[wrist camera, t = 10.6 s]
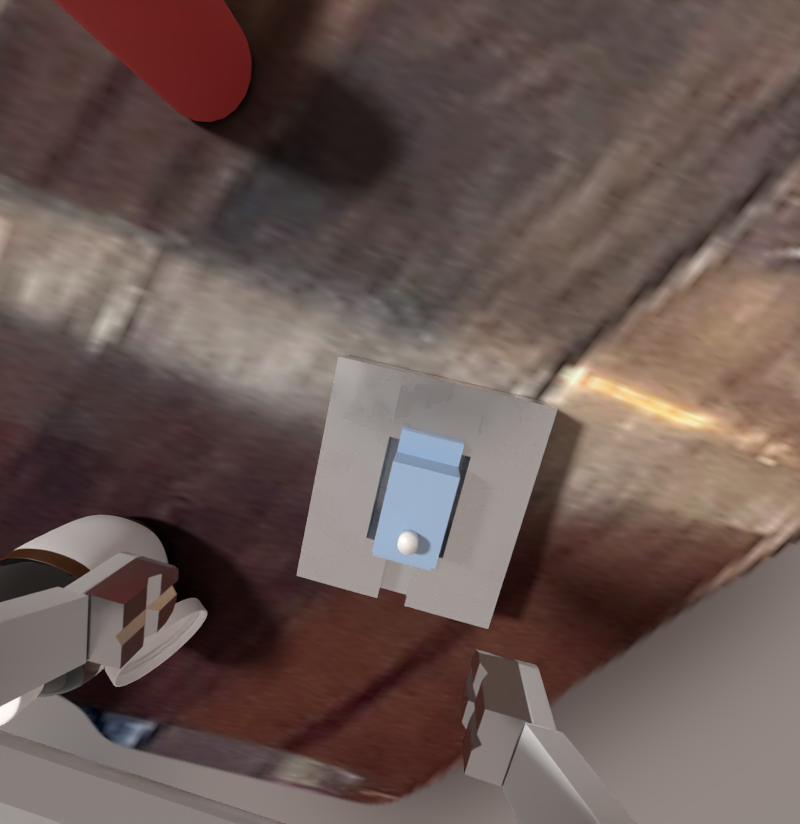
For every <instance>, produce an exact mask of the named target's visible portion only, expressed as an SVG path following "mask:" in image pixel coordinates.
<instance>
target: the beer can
mask: <svg viewBox="0 0 800 824" xmlns="http://www.w3.org/2000/svg"><path fill="white" fill-rule="evenodd" d="M54 1H55V2H56V3H57V4H58V5H59V6H61V7H62V8H63V9H64V10H65V11H66V12H67V13H68V14H69V15H71V16H72V17H73V18H74V19H75V20H76V21H77V22H78V23H80V24H81V25H82V26H83V27H84V28H85V29H86V30H87V31H88V32H90V33H91V34H92V35H93V36H94V37H95V38H96V39H97V40H98V41H100V42H101V43H102V44H103V45H104V46H105V47H106V48H107V49H108V50H110V51H111V52H112V53H113V54H114V55H115V56H116V57H117V58H118V59H120V60H121V61H122V62H123V63H124V64H125V65H126V66H127V67H128V68H130V69H131V70H132V71H133V72H134V73H135V74H136V75H137V76H138V77H140V78H141V79H142V80H143V81H144V82H145V83H146V84H147V85H148V86H150V87H151V88H152V89H153V90H154V91H155V92H156V93H157V94H159V95H160V96H161V97H162V98H163V99H164V100H165V101H166V102H167V103H169V104H170V105H171V106H172V107H173V108H174V109H175V110H176V111H177V112H179V113H180V114H181V115H183V116H185V117H188V118H190V119H192V120H194V121H203V122H213V121H216V120H219V119H223V118H225V117H226V116H228V115H229V114H230V113H232V112H233V111H234V110H236V109H237V107H238V106H239V104H240V103H241V101H242V100H243V98H244V97H245V96H246V93H247V89H248V86H249V83H250V80H251V63H252V60H251V55H250V50H249V46H248V41H247V39H246V37H245V35H244V33H243V31H242V29H241V28H240V26H239V24H238V22H237V21H236V19H235V17H234V16H233V14H232V13H231V11H230V9H229V8H228V6H227V5H226V3H225V1H224V0H54Z"/></svg>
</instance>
